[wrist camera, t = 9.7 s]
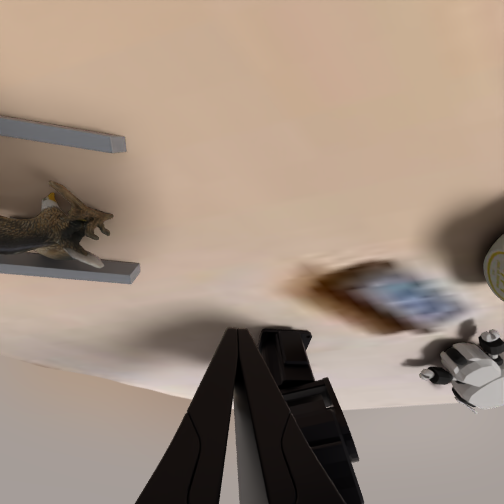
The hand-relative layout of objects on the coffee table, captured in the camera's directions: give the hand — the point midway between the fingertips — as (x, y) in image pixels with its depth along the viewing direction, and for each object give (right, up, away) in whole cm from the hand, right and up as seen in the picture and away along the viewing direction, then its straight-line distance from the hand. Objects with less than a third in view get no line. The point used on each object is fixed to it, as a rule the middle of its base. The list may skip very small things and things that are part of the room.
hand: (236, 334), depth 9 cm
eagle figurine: (-15, +6, +9) cm, 19 cm away
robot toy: (+34, -13, +23) cm, 43 cm away
